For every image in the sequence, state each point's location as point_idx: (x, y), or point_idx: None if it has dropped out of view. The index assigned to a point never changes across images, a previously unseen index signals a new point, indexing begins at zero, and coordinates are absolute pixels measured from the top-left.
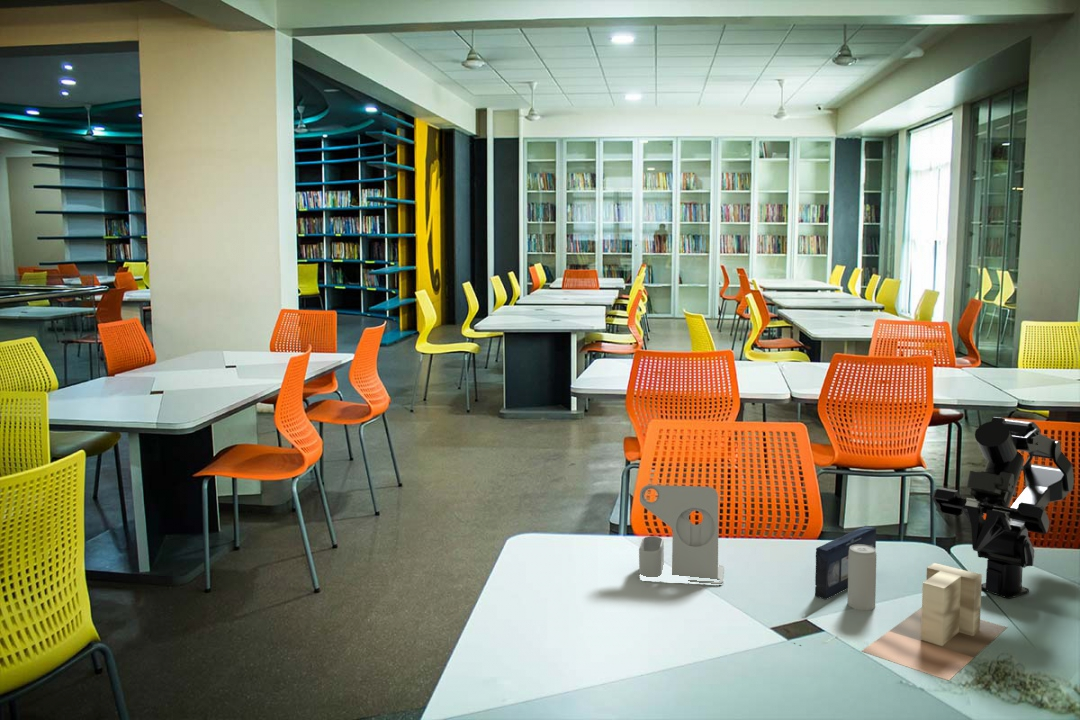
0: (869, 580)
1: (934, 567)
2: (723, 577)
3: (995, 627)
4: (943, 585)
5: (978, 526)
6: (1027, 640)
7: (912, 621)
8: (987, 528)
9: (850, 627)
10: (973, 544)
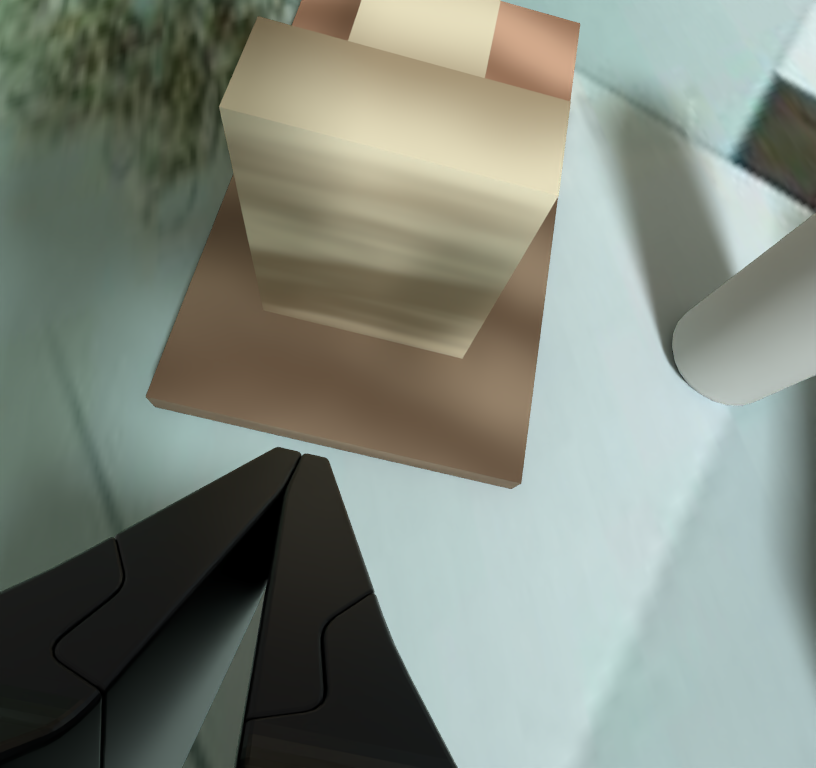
0: (786, 239)
1: (531, 120)
2: None
3: (199, 367)
4: None
5: (256, 646)
6: (70, 380)
7: (517, 279)
8: (77, 582)
9: (680, 212)
10: (318, 469)
